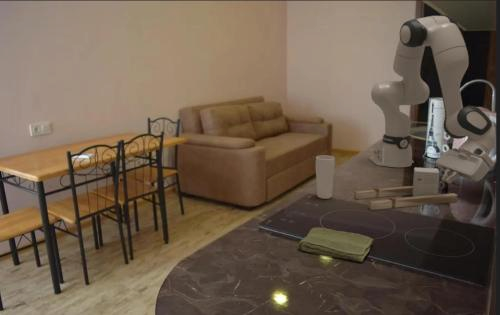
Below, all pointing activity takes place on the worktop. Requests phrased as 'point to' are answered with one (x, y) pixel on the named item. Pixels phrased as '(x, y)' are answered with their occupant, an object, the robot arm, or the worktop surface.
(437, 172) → the small box
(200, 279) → the worktop surface
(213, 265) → the worktop surface
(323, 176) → the drinking glass
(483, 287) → the worktop surface
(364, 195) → the wooden track
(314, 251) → the washcloth
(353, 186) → the worktop surface
